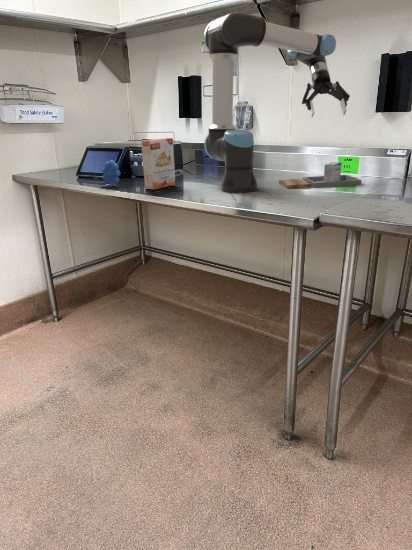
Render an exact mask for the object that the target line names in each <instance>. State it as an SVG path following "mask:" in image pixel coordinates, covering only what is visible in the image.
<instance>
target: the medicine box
mask: <svg viewBox="0 0 412 550" xmlns="http://www.w3.org/2000/svg"><path fill="white" fill-rule="evenodd" d="M323 169H324V170H323V172H324V173H323V176H324V181H323V182H331V181H341V180H340V175H342V161H340V162H339V161H332V162H327V163H326V164H324V168H323Z"/></svg>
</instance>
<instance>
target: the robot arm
mask: <svg viewBox="0 0 412 550" xmlns="http://www.w3.org/2000/svg"><path fill="white" fill-rule="evenodd" d="M203 41H204V45H205V47H206V49H208V57H209V59H211V62H212V88H211V89H212V93H211V94H212V99H211V100H212V103H211V104H212V105H211V107H212V109H211V110H212V111H211V113H212V116H211V117H212V118H211V119H212V122H211V124H210V126H209V127H208V134H207V135H206V137H205V139H204V144H203V147H204V150H205V153H206V155H208V157H210V159H212V160H215V161H217V162H218V161H219V162H220V161H222V162H224V174H223V179H222V182H221V189H220V190H221V191H222V190H223V191H222V192H225V191H226V192H225V193H232V192H242V193H250V192H255V191H257V190H258V189H259V188H258V186H259V185H258V180H257V177H256V174H255V170H254V152H255V151H254V145H255V142H254V141H255V139H254V134H253V133H252V132H251V131H249V130H247V129H237V128H236V126H235V125H234V124H233V112H234V109H233V108H234V71H235V70H234V68H235V67H234V63H235V60H236V59H237V57H238V55H239V54H238V53H239V52H238V50H239V48H240V47H246V46H247V47H249V46H250V47H251V46H252V47H260V46H262V45H263V46H267V47H272V48H277V49H281V50H286V52H287V54H288V56H291V57H292V58H293V59H295V60H298V61H299V62H300V63H302V64H304V65H306V66H307V67H309V68H308V69H309V72H310V77H311V82H312V84H311V83H310V82H309V83H307V85H306V90H305V93H304V95H303V98H302V99H301V100H302V101H301V105H305V107H307V111H309V112H310V117H311V118H314V115H315V110H314V102H313V100H314V99H315V98H316V97H317V96H318V94H319V95H327V94H328V95H329V96H332V97H334V98H335V99H336V100H337V101H339V102H340V103H339V104H340V108H341V113H342V116H345V115H346V113H347V111H348V110H347V105H348V103H347V102H348V101H349V99H350V94H349V93H348V92H347V91H346V90H345V89H344V88H343V87H342V86H341V85H340V82H339V81H338V80H337V81H335V82H334V83H333V82H332V81H331V76H330V72H329V68H328V64H327V59H326V57H327V56H330V55H332V54H334V52H335V50H336V47H337V40H336V38H335V36H334V35H333V34H328V33H327V34H317V33H313V32H308V31H305V30H301V29H296V28H293V27H290V26H284V25H280V24H276V23H273V22H268V21H267V19H265V18H264V17H262V16H259V15H254V14H251V13H247V12H240V11H234V12H233V11H232V12H230V13H228V14H225V15H222V16H219V17H215V18H214V19H213V20H212V21H210V22H209V23H208V24H207V26H206V27H205V30H204V33H203ZM312 89H313V92H312V93H311V94H309V93H310V91H312ZM308 95H309V96H308Z"/></svg>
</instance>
